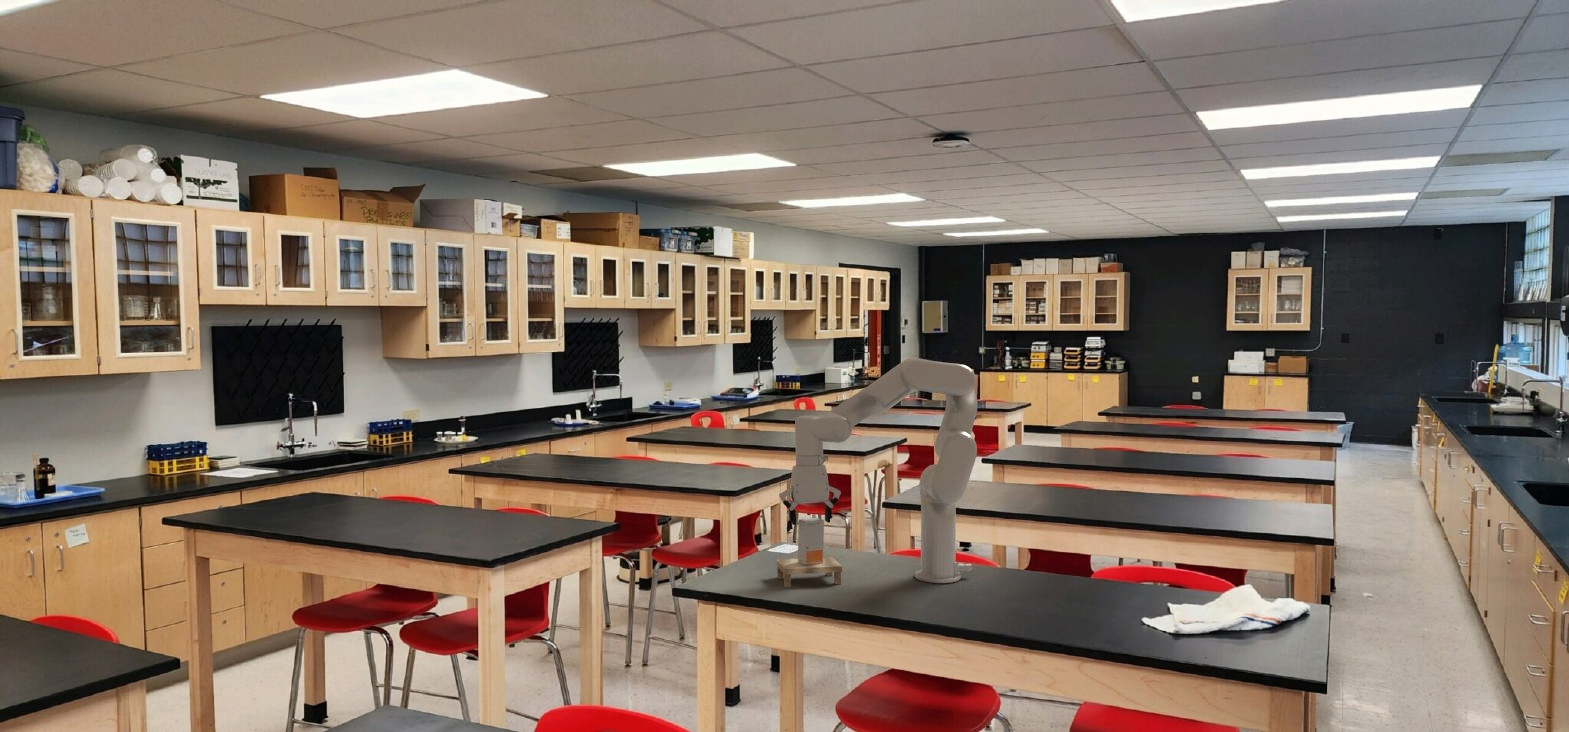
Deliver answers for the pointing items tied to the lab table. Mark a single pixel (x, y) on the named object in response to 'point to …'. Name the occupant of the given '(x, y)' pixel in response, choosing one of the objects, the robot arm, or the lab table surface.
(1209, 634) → the lab table surface
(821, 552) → the skincare box
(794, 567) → the birch stool
